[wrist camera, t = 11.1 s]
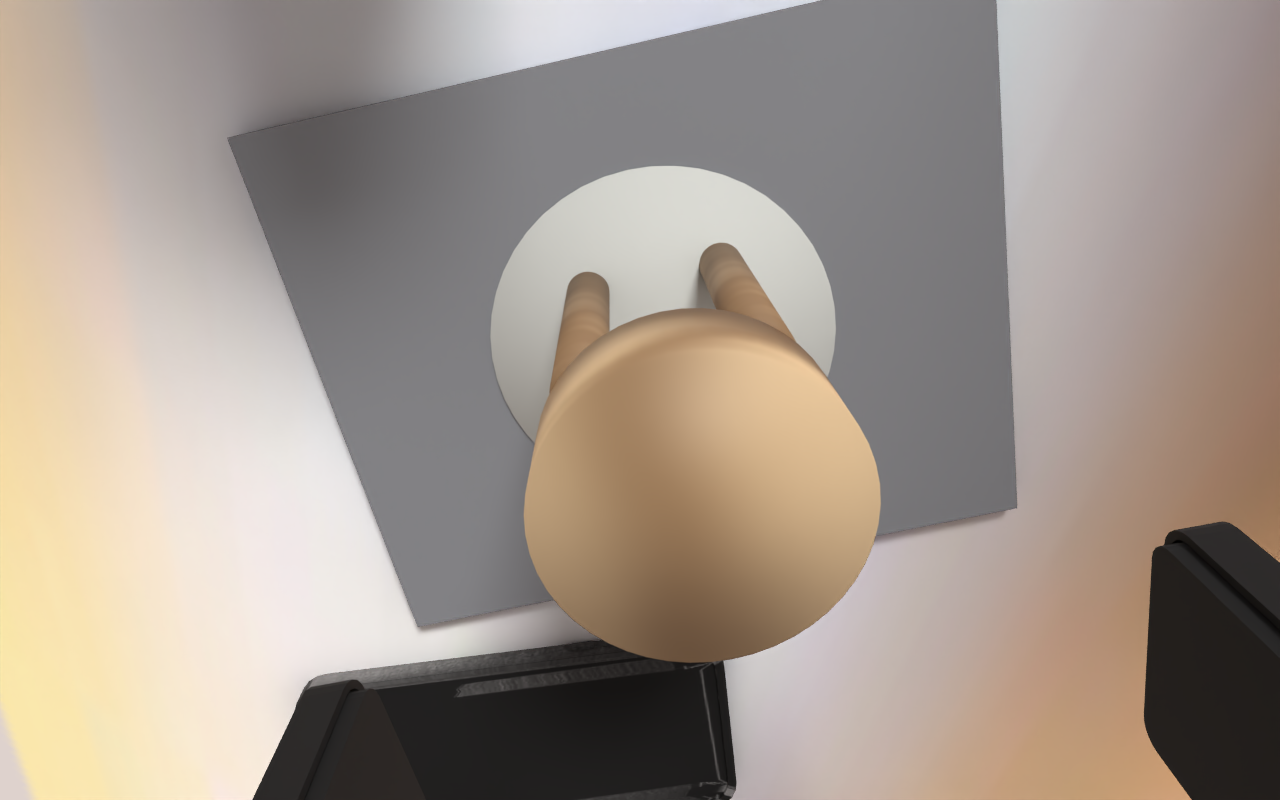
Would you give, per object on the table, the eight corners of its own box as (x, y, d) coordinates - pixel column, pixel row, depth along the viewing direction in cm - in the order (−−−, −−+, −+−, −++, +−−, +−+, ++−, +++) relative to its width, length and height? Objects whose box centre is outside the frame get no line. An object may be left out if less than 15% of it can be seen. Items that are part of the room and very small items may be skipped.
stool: (759, 208, 23) (861, 314, 14) (791, 416, 25) (896, 627, 16) (531, 258, 23) (479, 395, 14) (585, 459, 26) (572, 689, 16)
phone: (738, 805, 31) (344, 854, 32) (734, 781, 32) (353, 828, 33) (721, 636, 28) (284, 691, 29) (716, 616, 29) (296, 669, 30)
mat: (984, -37, 21) (996, -41, 21) (1008, 498, 27) (1018, 509, 27) (236, 135, 22) (225, 138, 22) (421, 615, 28) (416, 628, 28)
